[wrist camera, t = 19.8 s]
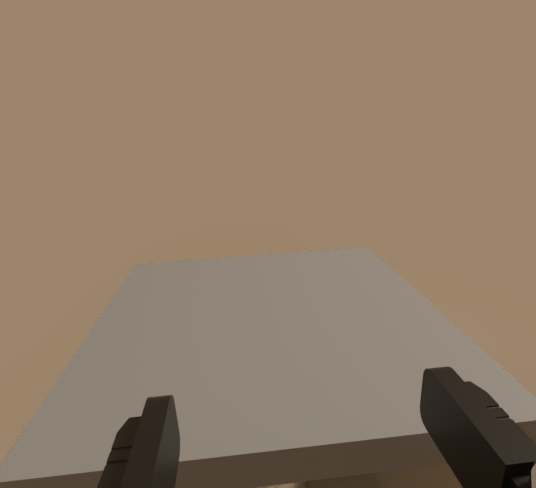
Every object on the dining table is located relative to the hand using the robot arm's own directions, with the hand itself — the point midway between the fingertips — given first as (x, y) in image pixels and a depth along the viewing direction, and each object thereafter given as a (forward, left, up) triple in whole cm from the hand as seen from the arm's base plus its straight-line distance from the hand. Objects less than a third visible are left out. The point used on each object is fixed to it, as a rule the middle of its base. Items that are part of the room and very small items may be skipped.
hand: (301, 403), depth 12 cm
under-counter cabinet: (0, -16, -29) cm, 33 cm away
